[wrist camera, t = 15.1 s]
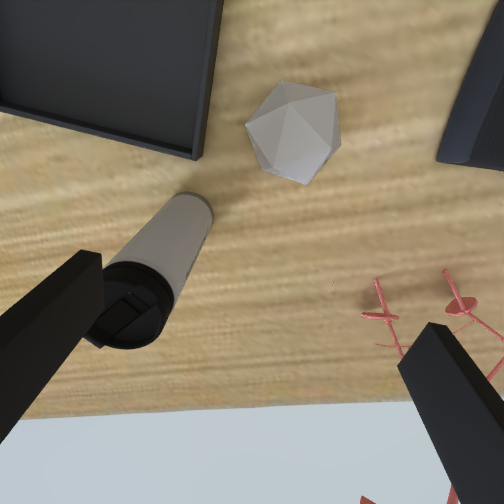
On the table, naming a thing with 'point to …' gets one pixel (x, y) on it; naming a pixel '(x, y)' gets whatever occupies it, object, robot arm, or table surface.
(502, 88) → the hard drive
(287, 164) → the die
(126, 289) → the travel mug
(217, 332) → the table surface
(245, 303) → the table surface
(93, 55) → the black tray
